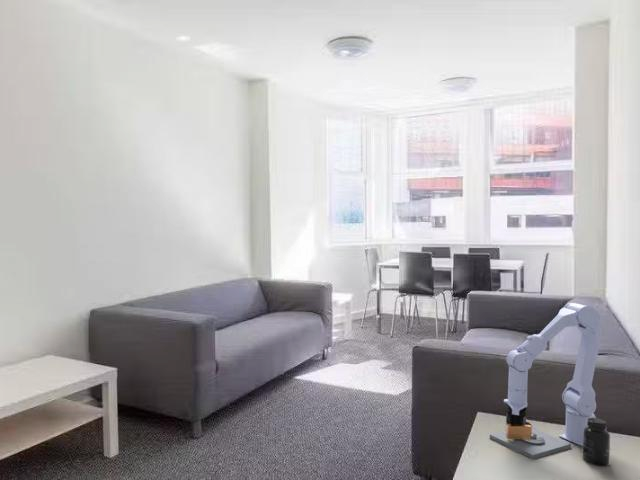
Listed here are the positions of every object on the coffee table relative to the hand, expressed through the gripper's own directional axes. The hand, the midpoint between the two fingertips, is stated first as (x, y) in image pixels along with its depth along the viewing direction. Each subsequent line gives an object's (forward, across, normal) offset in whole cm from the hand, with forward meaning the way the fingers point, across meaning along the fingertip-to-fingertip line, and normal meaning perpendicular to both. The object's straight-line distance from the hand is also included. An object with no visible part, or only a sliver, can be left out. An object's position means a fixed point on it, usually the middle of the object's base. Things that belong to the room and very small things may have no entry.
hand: (516, 430), depth 154 cm
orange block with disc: (+1, +3, +3) cm, 4 cm away
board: (+3, +2, +4) cm, 5 cm away
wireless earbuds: (+3, -13, 0) cm, 13 cm away
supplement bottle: (+3, +6, +22) cm, 23 cm away
